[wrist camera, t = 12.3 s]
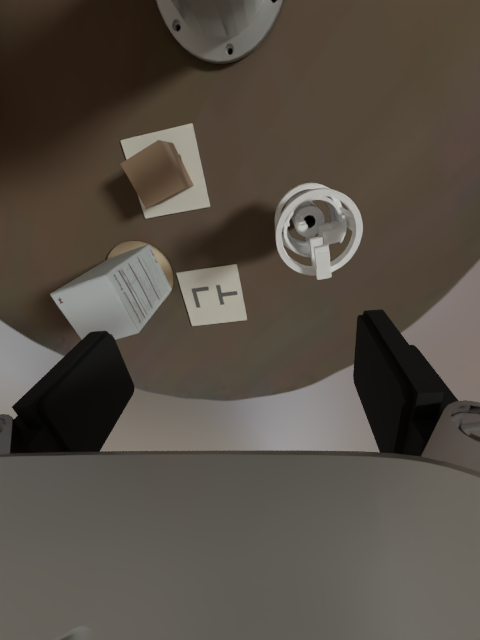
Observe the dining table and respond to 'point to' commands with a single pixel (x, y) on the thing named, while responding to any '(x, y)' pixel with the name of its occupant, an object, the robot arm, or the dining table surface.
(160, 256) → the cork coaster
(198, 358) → the dining table surface
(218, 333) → the dining table surface
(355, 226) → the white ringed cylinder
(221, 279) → the code tile
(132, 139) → the code tile
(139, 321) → the supplement box
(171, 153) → the walnut block
